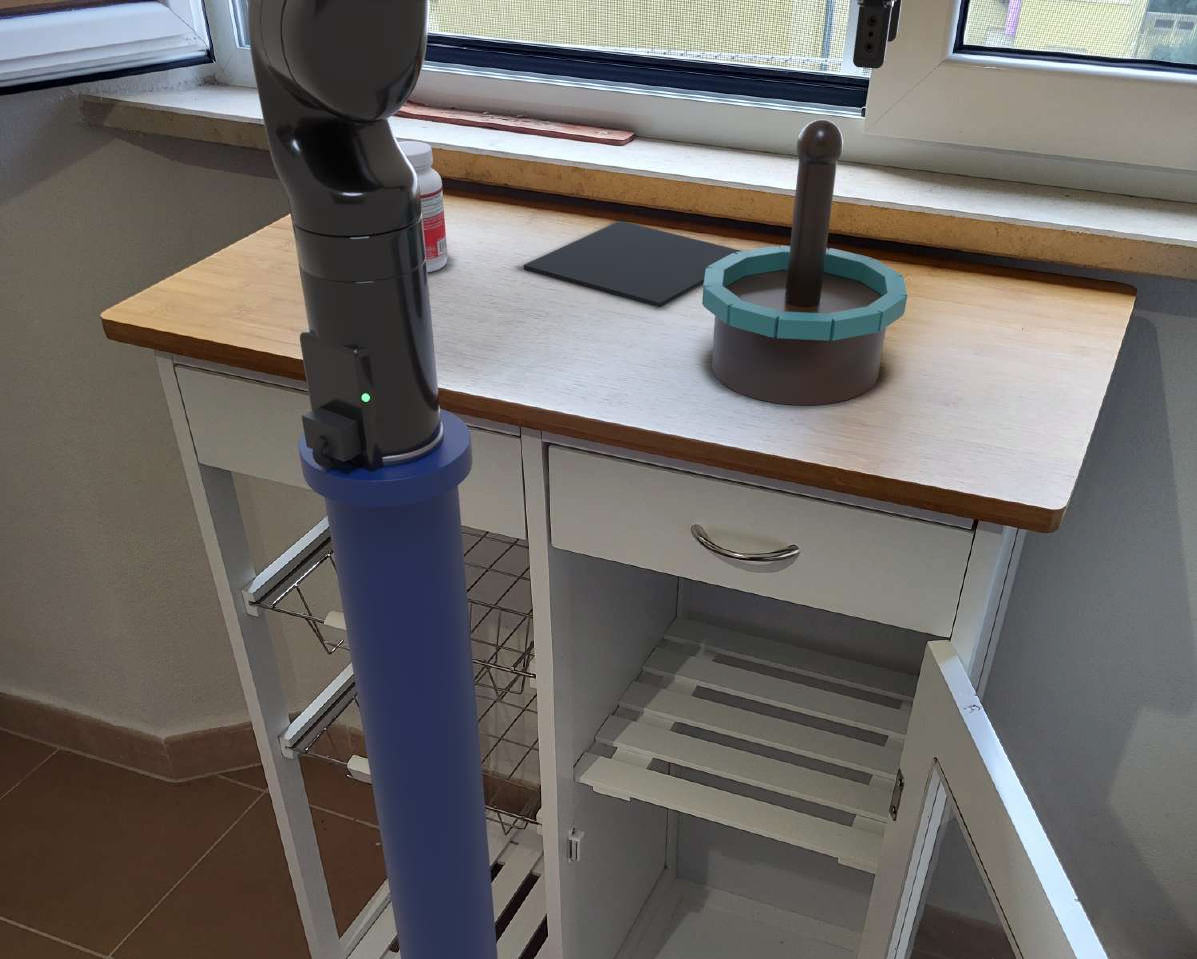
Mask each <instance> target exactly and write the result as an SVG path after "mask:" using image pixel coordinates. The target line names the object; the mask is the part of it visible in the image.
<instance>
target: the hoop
mask: <svg viewBox="0 0 1197 959" xmlns="http://www.w3.org/2000/svg"><path fill="white" fill-rule="evenodd" d="M789 251H790V245H780V246H778V245H772V246H766V247H760V248H753V249H748V250H747V249H746V250H740V252H735V253H732V254H730V255H728V256H726V257H724V258H723V259H721V260H719V261H717V262H715V263H713V264H711V265H709V266H708V267H707V268H706V270H705V277H704V283H703V284H702V302H701V304H702V306H703V307H704V308H705V309H706V310H707V311H709V312H710V313H711V314H712V315H713V316H714V317H715V316H716V317H718V318H719V319H720V320H722V321H723V322H724V323H725V324H729V326H733V327H736V328H740V329H743V330H747V331H751V332H754V333H758V334H761V335H765V336H768V337H772V338H773V337H775V336H777V338H783V339H804V340H826V341H829V340H830V339H831V340H833V341H834V340H839V339H845V338H850V337H856V336H861V335H866V334H872V333H877V332H878V331H881V330H883V329H884V328H886V329H887V327H889V326H890V325H891V324H893V323H895V322H896V321H897V320H899V319H900V318H901V317H903V316H904V314H905V310H906V305H907V299H908V292H907V291H908V290H907V287H906V286H907V285H906V280H905V277H904V276H903V274H902V273H899V272H898V271H897V270H894V269H893V268H891V267H890V266H889V265H887V264H886V263H883V262H881V261H879V260H878V259H877V258H873V257H871V256H866V255H862V254H858V253H854V252H850V251H846V250H841V249H837V248H832V247H830V248H827V249H826V257H825V265H824V272H825V273H829V274H833V275H837V276H841V277H845V278H849V279H853V280H857V281H860V282H862V283H864V284H865V285H867V286H868V287H870V288H872V289H873V290H875V291H876V292H878V293H879V294H881V295H882V297H881V298H879V299H878V300H876V301H875V302H873V303H872V304H870V305H869V306H867V307H862V308H856V309H850V310H845V311H839V312H834V313H828V314H824V313H803V312H783V311H779V310H775V309H771V308H768V307H764V306H760V305H756V304H753V303H749V302H745V301H742V300H741V299H740V298H738V297H737V296H736V295H734V294H733V293H732V292H730V291H729V290H728V289H726V288H725V287H726V286H728V285H730V284H732V283H733V282H735V281H737V280H739V279H740V278H742V277H744V276H748V275H754V274H760V273H766V272H772V271H778V270H788V261H789Z"/></svg>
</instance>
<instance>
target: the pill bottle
mask: <svg viewBox="0 0 1197 959" xmlns="http://www.w3.org/2000/svg"><path fill="white" fill-rule="evenodd" d="M397 142H398V144H399V146H400V147H401V149H402V151H403V153H404V154H405V156H406V157H407V159H408V160H409V162H410V163H411V165H412V166H413V168H414V170H415V172H416V174H417V177H418V181H419V186H420V195H421V206H422V218H423V229H424V240H425V251H426V264H427V273H431V272H436V271H438V270H441V269H442V268H443V267H444V266H445V265H446V264H447V262H448V244H447V231H446V230H447V229H446V218H445V205H444V194H443V181H442V177H441V175H440V173H438V172H437V171H436V170H435V169H434V168H432V165H433V161H434V158H433V157H434V156H433V150H432V149H433V148H432V146H431V145H430V144H429V143H426V142H422V141H415V140H403V141H402V140H401V141H397Z"/></svg>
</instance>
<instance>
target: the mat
mask: <svg viewBox="0 0 1197 959" xmlns="http://www.w3.org/2000/svg"><path fill="white" fill-rule="evenodd" d="M740 251H741V250H740V249H737V248H732V247H728V246H724V245H720V244H716V243H712V242H708V241H704V240H700V239H695V238H693V237H687V236H683V235H679V234H675V233H671V232H667V231H664V230H659V229H656V228H651V227H647V226H643V225H639V224H635V223H631V222H627V221H623V220H618V221H617V222H615V223H611V224H610V225H608V226H606V227H604V228H601V229H599V230H597V231H595V232H592V233H590V234H588V235H586V236H584V237H581V238H579V239H577V240H575V241H573V242H570V243H568V244H566V245H564V246H562V247H560V248H558V249H556V250H553V251H551V252H549V253H546V254H544V255H543V256H540V257H538V258H535V259H534V260H531V261H529V262H527V263H525V264H523V266H522V267H523V270H527V271H530V272H533V273H537V274H541V275H544V276H548V277H552V278H555V279H559V280H562V281H566V282H569V283H573V284H576V285H580V286H584V287H587V288H591V289H594V290H598V291H602V292H605V293H609V294H612V295H614V296H615V295H616V296H619V297H622V298H625V299H626V298H627V299H630V300H634V301H637V302H639V303H640V302H641V303H644V304H648V305H652V306H654V307H658V308H660V307H662V306H664V305H666V304H668V303H670V302H672V301H673V300H676V299H677V298H679V297H681V296H682V295H685V294H687V293H688V292H690V291H691V290H694V289H696V288H697V287H699V286H701V285H704V277H705V270H706V268H707V267H708V266H709V265H711V264H713V263H715V262H717V261H719V260H721V259H723V258H724V257H726V256H728V255H730V254H732V253H735V252H740Z"/></svg>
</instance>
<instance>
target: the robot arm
mask: <svg viewBox="0 0 1197 959" xmlns="http://www.w3.org/2000/svg"><path fill="white" fill-rule="evenodd" d="M902 4H903V0H857V6H859V7H858V14H857V15H858V16H857V23H856V31H855V40H854V46H853V47H854V48H853V56H852V62H853V65H854V66H855V67H856V68H864V69H880V68H881V67H882V66H883V65H884V63H885V61H886V54H887V47H888V43H890V42H894V40H895V39H896V38H897V36H898V32H899V26H900V25H899V24H900V17H901V12H902ZM246 20H247V35H248V44H249V51H250V56H251V57H250V58H251V64H252V68H253V74H254V79H255V84H256V90H257V96H258V99H259V104H260V110H261V115H262V119H263V124H264V129H265V134H266V135H265V136H266V139H267V145H268V149H269V154H270V157H271V158H270V159H271V161H272V164H273V167H274V170H275V172H276V175H277V177H278V179H279V182H280V183H281V185H282V188H283V190H284V193H285V195H286V198H287V202H288V208H289V212H290V218H291V224H292V231H293V238H294V244H295V249H296V250H295V251H296V256H297V262H298V263H297V264H298V269H299V276H300V281H301V289H302V295H303V299H304V300H303V301H304V307H305V314H306V320H307V326H308V329H306V330H303V331H301V333H300V334H299V344H300V349H301V355H302V361H303V367H304V375H305V380H306V385H307V391H308V398H309V404H310V411H308V412H306V413H304V414H302V415H301V422H302V428H303V433H304V434H305V440H306V445H307V447H308V448H311V449H313V452H312V454H313V459H314V461H315V462H316V463H317V464H319V465H320V466H322V467H325V468H328V469H331V468H333V467H334V464H335V463H334V461H333V460H332V459H330V458H328V457H325V456H323V454H326V455H328V456H331V457H333V458H336V459H338V460H341V461H343V462H347V463H350V464H353V465H355V466H357V467H360V468H362V469H365V470H367V471H370V472H374V471H376V470H378V469H380V468H383V467H387V466H395V465H401V464H406V463H410V462H413V461H416V460H419V459H422V458H424V457H426V456H428V455H430V454H431V453H433V452H434V451H435V450H436V449H437V448H438V447H439V446H440V445H441V443H442V441H443V438H444V437H443V425H442V422H441V416H440V409H441V407H440V405H441V404H440V396H439V387H438V386H439V385H438V375H437V373H438V372H437V364H436V352H435V351H436V350H435V341H434V340H435V339H434V331H433V330H434V329H433V320H432V309H431V298H430V288H429V287H430V286H429V277H428V275H429V274H428V272H427V264H426V251H425V240H424V229H423V218H422V206H421V195H420V186H419V181H418V177H417V174H416V172H415V170H414V168H413V166H412V165H411V163H410V162H409V160H408V159H407V157H406V156H405V154H404V153H403V151H402V149H401V147H400V146H399V144H398V142H399V141H398V140H397V137H396V134H395V133H394V129H393V127H392V124H391V121H390V118H391V117H392V116H393V115H395V114H396V113H398V112H399V110H400V109H402V107H403V106H404V105H405V104H406V103H407V102H408V100H409V99H410V97H411V95H412V94H413V92H414V91H415V89H416V86H417V84H418V81H419V79H420V76H421V74H422V70H423V67H424V63H425V58H426V52H427V45H428V35H429V23H430V22H429V21H430V0H247V18H246Z"/></svg>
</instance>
